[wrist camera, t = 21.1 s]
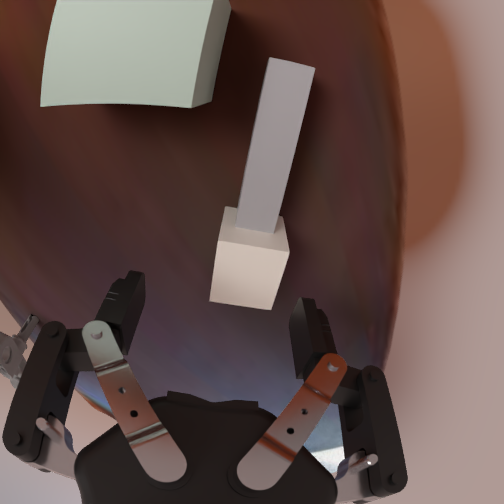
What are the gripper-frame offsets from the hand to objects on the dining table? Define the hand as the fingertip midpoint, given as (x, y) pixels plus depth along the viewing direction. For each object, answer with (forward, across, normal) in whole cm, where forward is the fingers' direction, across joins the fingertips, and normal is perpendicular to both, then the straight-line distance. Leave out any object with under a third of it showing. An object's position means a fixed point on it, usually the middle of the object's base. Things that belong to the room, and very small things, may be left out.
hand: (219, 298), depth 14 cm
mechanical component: (+10, +25, +19) cm, 33 cm away
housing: (+9, +7, -12) cm, 17 cm away
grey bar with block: (+9, -2, -3) cm, 10 cm away
